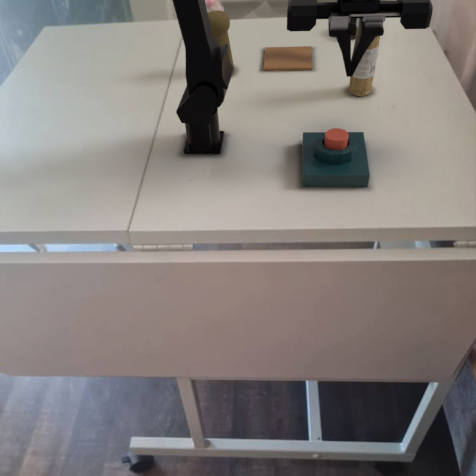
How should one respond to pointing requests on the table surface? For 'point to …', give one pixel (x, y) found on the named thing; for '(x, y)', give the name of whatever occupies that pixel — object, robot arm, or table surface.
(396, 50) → the table surface
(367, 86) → the sprinkles bottle
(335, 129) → the red button cap
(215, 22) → the pepper shaker
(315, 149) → the teal push button base
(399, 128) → the table surface
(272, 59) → the coaster
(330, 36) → the robot arm
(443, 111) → the table surface
